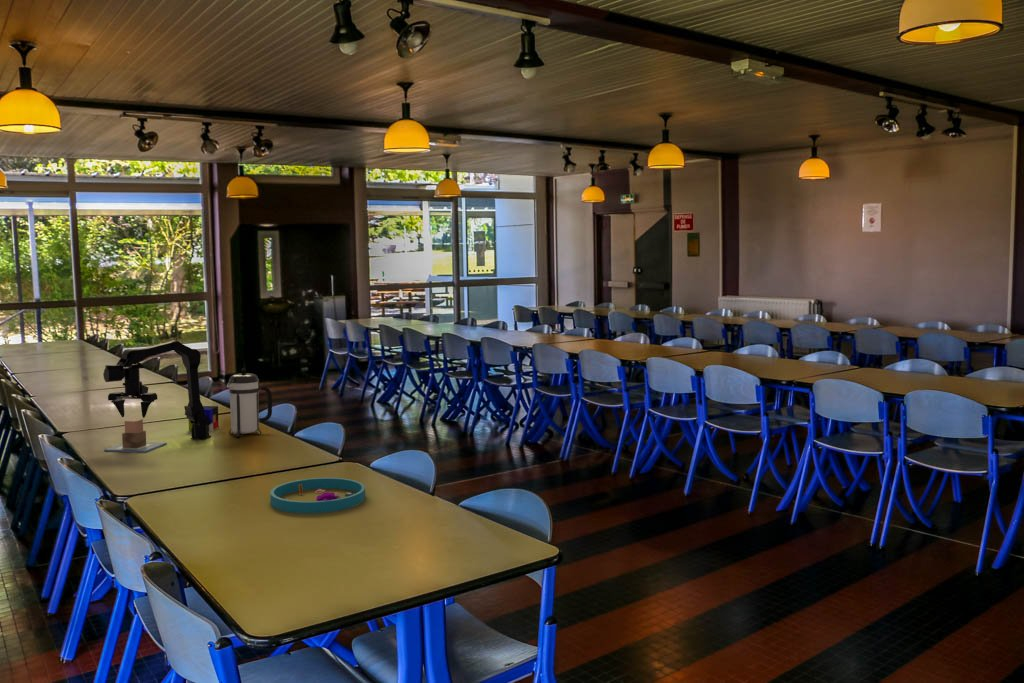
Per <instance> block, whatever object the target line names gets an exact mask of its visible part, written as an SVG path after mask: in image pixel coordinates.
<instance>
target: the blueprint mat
mask: <svg viewBox="0 0 1024 683" xmlns="http://www.w3.org/2000/svg"><path fill="white" fill-rule="evenodd" d="M167 444H168V443H167V442H165V441H163V442H162V441H161V442H160V441H159V442H158V441H146V445H145V446H142V447H139V448H123V444H122V442H121V443H118V444H115V445H112V446H110V447H107V448H104V449H103V451H104V452H111V453H117V452H118V453H139V454H142V453H144V454H146V453H149V452H152V451H154V450H156V449H158V448H161V447H164V446H166V445H167Z"/></svg>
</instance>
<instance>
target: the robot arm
mask: <svg viewBox="0 0 1024 683" xmlns="http://www.w3.org/2000/svg"><path fill="white" fill-rule="evenodd" d="M169 352H175V354H177V355H179V356H180V357H181V360H182V364H183V365H184V368H185V369H186V370H185V372H186V380H187V381H186V382H187V394H188V403H187V405H184V407H183V408H184V416H186V419H188V421H189V420H190V422H191V424H193V425H192V428H191V431H190V432H191V437H190V440H207V439H209V438H211V437H212V435H210V431H209V425H210V423H211V420H210V419H209V418H208V417H207V416H206V414H205V410H204V407H203V406H204V405H203V402H202V401H201V392H200V390H201V389H200V378H199V367H200V364H201V356H202V355H201V352H200V351H199V350H198V349H195V348H191V347H190V346H188V345H185V344H183V343H182V342H180V341H179V340H173V339H172V340H170V341H166V342H164V343H163V342H162V343H159V344H155V345H150V346H147V347H141V348H140V347H138V348H137V347H136V348H127V349H125V350H123V351H122V353H121V357H120V359H119V360H118V362H116V364H105V368H104V369H103V372H102V375H103V380H104V382H106V383H112V382H114V383H115V382H121V381H123V379H124V382H122V386H124V391H114V392H109V393H108V395H107V401H110V403H111V404H113V405H114V407H115V408H116V409H117V411H118V413H119V415H120V416H121V418H124V417H125V402H126V399H127V400H141V401H140V409H141V415H142V419H145V418H146V416H147V412H148V410H149V407H150V405H151V404H152V403H154V402H155V401H157V400H158V394H157V393H156V392H149V386H146V385H143V381H140V380H141V377H140V375H141V374H140V369H145V367H146V366H144V365H143V364H142V363H141V362H143V361H144V360H146V359H147V358H151V357H154V356H158V355H162V354H165V353H166V354H167V353H169Z"/></svg>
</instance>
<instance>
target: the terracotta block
mask: <svg viewBox="0 0 1024 683" xmlns="http://www.w3.org/2000/svg"><path fill="white" fill-rule="evenodd" d="M142 431H144V418H130V419H127V420H124V433H139V432H142Z"/></svg>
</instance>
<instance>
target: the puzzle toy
mask: <svg viewBox="0 0 1024 683" xmlns="http://www.w3.org/2000/svg"><path fill="white" fill-rule="evenodd" d="M203 407H204V410H205V414H206V416H207V417H208V418H209V419H210V420H211V423H210V425H209V432H211V431H213V429H214V430H215V428H216V429H218V428H219V426H220V425H219V424H220V423H219V406H218V405H203ZM192 425H193V424H191V422H190V420H189V419H188V432H191V428H192ZM217 427H218V428H217Z"/></svg>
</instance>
